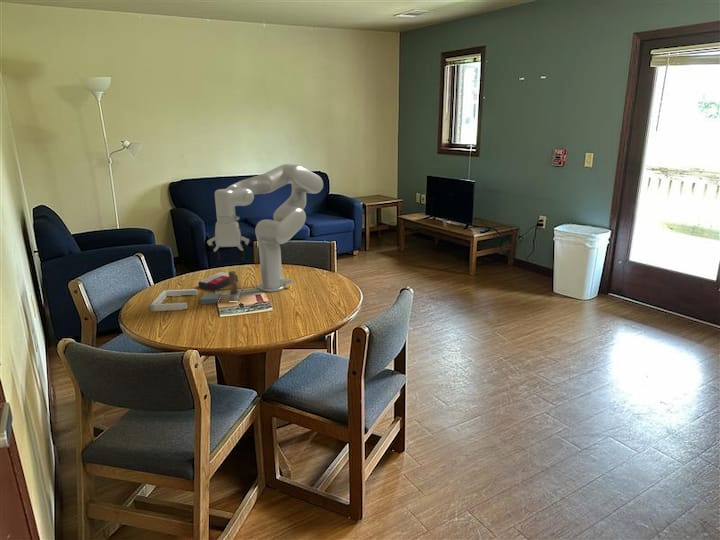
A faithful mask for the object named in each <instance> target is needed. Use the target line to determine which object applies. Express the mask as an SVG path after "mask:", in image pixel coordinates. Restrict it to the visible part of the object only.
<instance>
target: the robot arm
mask: <svg viewBox="0 0 720 540" xmlns="http://www.w3.org/2000/svg"><path fill="white" fill-rule="evenodd" d="M289 184H290V185H291V193H290V196H289V197H288V198H287V199H286V200H285V201H284V202H283V203H282V204H281V205H280V206H278V208H277V209H276V210H275V211H274V212H273V216H272V218H273V219H262V220H260V221H258V222H257V224H256V226H255V229H254V230H255V233H254V234H255V237H256V241H257V244H258V246H257V247H258V253H259V254H258V255H259V264H260V265H259V266H260V276H261V277H260V278H261V283H260V284H259V285H258V289H259V290H260V291H261V292H279V291H282V290H285V289H286V288H287V284H290V285H292V284H293V279H291V278H284V275H283V268H282V254H281V253H282V251H281V246H280V245H282V244H286V243H287V242H289V241H290V240H291V239H292V238H293V237H294V236H295V235H296V234H297V233H298V232H299V231H300V230H302V228H303V227H304V225H305V223H306V220H307V214H306V212H305V210H304V209H305V208H306V206H307V194H313V195H314V194H316V195H317V194H319V193H320V192H321V191H322V190H323V189H324V181H323V179H322V177H321V176H320V175H319V174H316V173H314V172H312V171H311V170H309V169H308V168H306V167H304V166H301V165H299V164H288V163H286V164H281V165H278V166H276V167H275V168H273V169H270V170H268V171H266V172H264V173H262V174H259V175H255V176H251V177H249V178H246V179H242V180H239V181H238V182H235V183H232V184H231V185H229V186H227V188H221V189H220V188H219V189H217V190H215V191H214V201H215V211H216V212H215V213H216V222H215V229H214V230H215V231H214V236H213V237H212V238H209V239H208V240H207V241H206V243H207V245H208V246H209V248H210V249H211V250H212V251H213V252H214V259H216V262H217V261H220V259H221V257H220V250H219V248H234V247H237V248H238V249H239V251H238V252H239V260H240V261H242V260H243V259H244V258H245V251H244V250H245V249H246V248H247V247H248V246H249V245H248V244H249V243H250V238H247V237H245V236H242V234H241V228H240V225H239V222H238V221H239V220H240V216H238V215H236V207H239V206H241V207H245V206H248V205H251V204H252V203H253V201H254V199H255V195H265V194H270V193H272V192H274V191H276V190H278V189H280V188H282V187H284V186H286V185H289ZM214 241H215V245H214V244H213V242H214ZM242 241H243V242H244V244H243V245H242Z"/></svg>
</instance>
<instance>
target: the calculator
mask: <svg viewBox="0 0 720 540" xmlns="http://www.w3.org/2000/svg"><path fill="white" fill-rule="evenodd" d="M238 282H239V278H238V274H236V283H238ZM228 286H230V281H229V272H222V271H220V272H218V273H215V274H212V275H209V276H208V277H205V278H204V279H201V280H199V281H198V288H199V287H200V288H199V289H205V290H209V289H210V291H215V290H217V291H219V290H222V289H224V288H226V287H228ZM221 288H222V289H221Z"/></svg>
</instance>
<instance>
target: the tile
mask: <svg viewBox="0 0 720 540" xmlns="http://www.w3.org/2000/svg"><path fill="white" fill-rule="evenodd" d="M220 296H221V297H222V295H221V292H215V293H203V295H202V297H201V299H200V302H201V303H200V304H201V305H203V304H204V305H207V304H208V305H209V304H211V303H213V304H217V303H216V302H218V300H219V298H220Z"/></svg>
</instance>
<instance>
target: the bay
mask: <svg viewBox="0 0 720 540" xmlns="http://www.w3.org/2000/svg"><path fill="white" fill-rule="evenodd" d="M181 295H193V296H198V288H189V289H169V290H167V289H166V290H165V289H164V290H163V291H161V293H159V295H158V296H157V297H156V298H155V299H154V300H153V302H151V304H150V305H149V310H150V312H163V311H167V310H168V311H183V309H187V308H189V307H188V302H173V303H172V302H171V303H163V302H164V301H165V300H164V299H166V298H167V296H172V297H182V296H181ZM163 300H164V301H163ZM187 310H188V309H187ZM168 311H167V312H168Z"/></svg>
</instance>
